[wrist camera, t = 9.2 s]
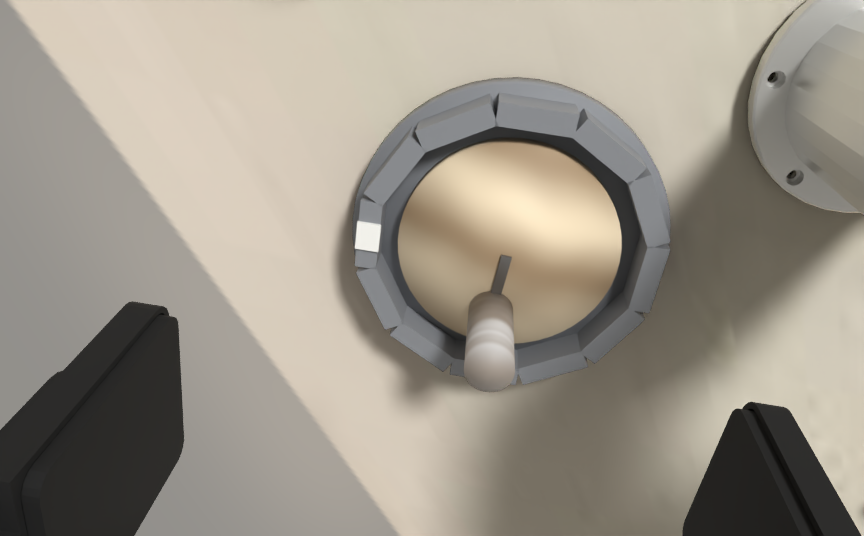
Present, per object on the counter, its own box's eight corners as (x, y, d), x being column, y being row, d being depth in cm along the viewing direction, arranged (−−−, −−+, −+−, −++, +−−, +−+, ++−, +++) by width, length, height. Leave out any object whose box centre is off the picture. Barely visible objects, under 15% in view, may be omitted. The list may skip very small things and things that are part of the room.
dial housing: (707, 105, 36) (727, 125, 33) (618, 377, 45) (628, 414, 42) (371, 53, 37) (358, 67, 33) (346, 333, 45) (334, 366, 42)
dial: (422, 114, 36) (406, 157, 30) (650, 166, 37) (681, 218, 30) (383, 310, 42) (363, 379, 36) (580, 353, 42) (594, 429, 36)
